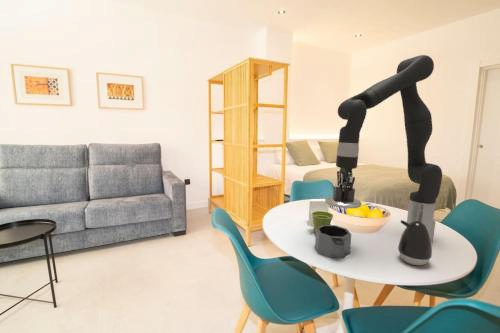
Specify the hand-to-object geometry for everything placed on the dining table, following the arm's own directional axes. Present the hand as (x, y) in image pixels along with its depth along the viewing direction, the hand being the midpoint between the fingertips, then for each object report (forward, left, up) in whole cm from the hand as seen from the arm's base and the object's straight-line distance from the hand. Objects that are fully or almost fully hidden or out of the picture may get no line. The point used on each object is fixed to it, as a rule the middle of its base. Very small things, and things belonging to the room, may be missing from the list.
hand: (343, 199), depth 101 cm
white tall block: (+3, -26, -20) cm, 33 cm away
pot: (+4, +2, -20) cm, 20 cm away
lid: (0, 0, -1) cm, 1 cm away
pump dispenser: (-23, +9, -20) cm, 32 cm away
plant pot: (+4, -15, -20) cm, 25 cm away
